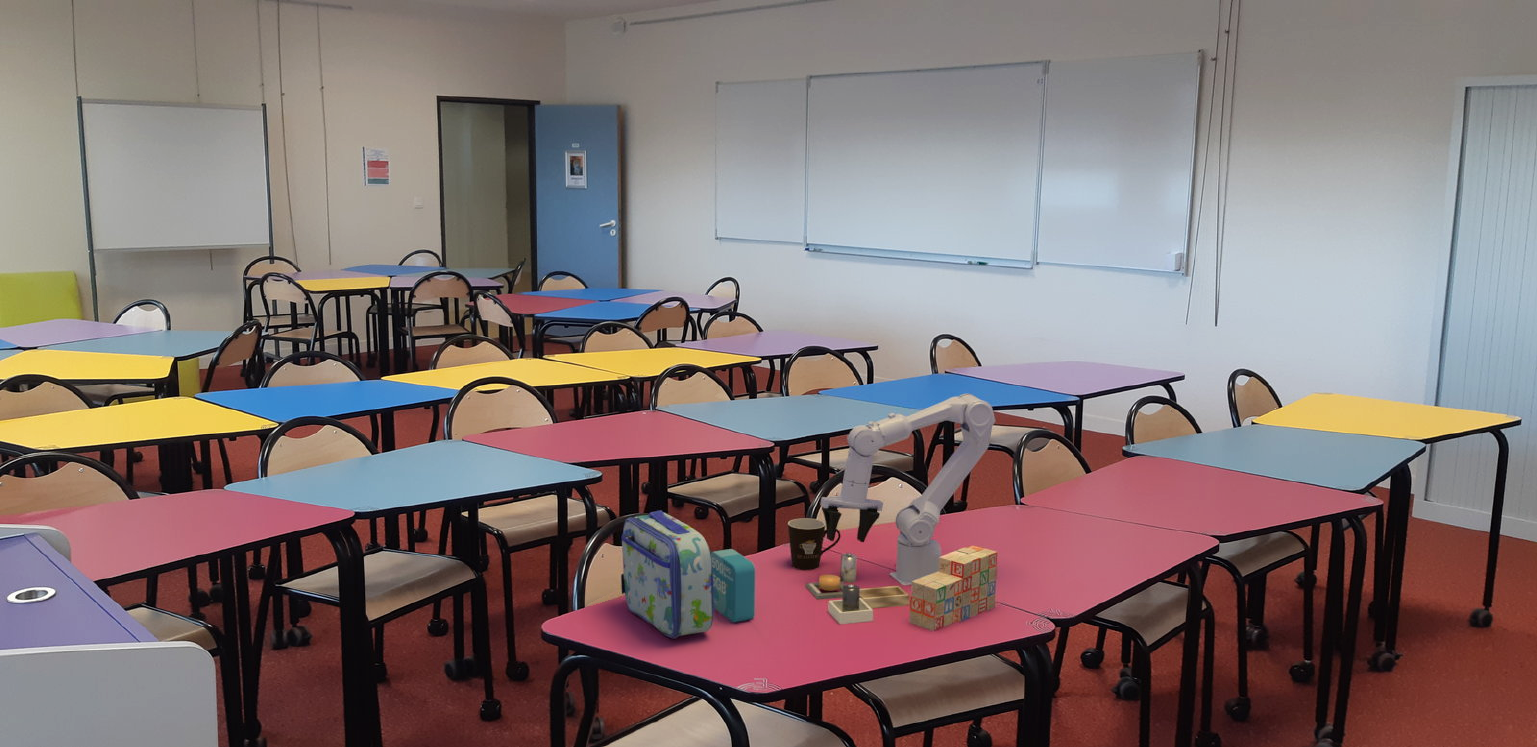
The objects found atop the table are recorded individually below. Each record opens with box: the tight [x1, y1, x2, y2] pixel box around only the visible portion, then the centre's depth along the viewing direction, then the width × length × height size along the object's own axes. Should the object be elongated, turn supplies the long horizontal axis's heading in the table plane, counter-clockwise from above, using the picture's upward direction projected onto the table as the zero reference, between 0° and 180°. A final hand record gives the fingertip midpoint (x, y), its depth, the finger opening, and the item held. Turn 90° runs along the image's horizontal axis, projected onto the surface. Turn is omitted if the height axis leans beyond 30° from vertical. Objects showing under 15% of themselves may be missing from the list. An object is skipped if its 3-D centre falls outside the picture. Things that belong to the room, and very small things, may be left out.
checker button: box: [818, 574, 841, 592], centre depth 235 cm, size 4×4×2 cm
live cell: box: [840, 552, 858, 584], centre depth 242 cm, size 3×3×6 cm
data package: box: [710, 548, 756, 623], centre depth 222 cm, size 12×4×12 cm, turn 27°
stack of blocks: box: [909, 545, 998, 632], centre depth 223 cm, size 21×6×12 cm, turn 135°
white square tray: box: [827, 598, 874, 625], centre depth 221 cm, size 7×7×3 cm
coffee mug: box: [787, 517, 841, 571], centre depth 252 cm, size 12×9×10 cm
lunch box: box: [620, 509, 715, 639], centre depth 217 cm, size 26×11×21 cm, turn 29°
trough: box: [859, 585, 910, 609], centre depth 229 cm, size 10×6×3 cm, turn 106°
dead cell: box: [841, 584, 861, 612], centre depth 221 cm, size 3×3×6 cm
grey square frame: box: [805, 580, 846, 600], centre depth 235 cm, size 8×8×2 cm
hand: (845, 540), depth 241 cm, fingers open, 7 cm apart
